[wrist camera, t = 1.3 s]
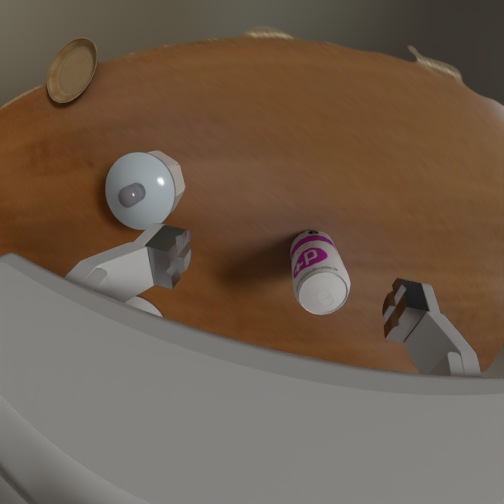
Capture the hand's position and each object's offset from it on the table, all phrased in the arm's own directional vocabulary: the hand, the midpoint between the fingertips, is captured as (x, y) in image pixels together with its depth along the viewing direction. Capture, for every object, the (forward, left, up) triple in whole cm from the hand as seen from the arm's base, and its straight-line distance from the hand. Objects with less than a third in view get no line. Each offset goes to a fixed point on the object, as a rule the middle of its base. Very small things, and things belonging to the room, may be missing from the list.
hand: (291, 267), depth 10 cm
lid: (-16, +17, -31) cm, 39 cm away
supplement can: (-10, -14, -38) cm, 41 cm away
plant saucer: (-4, +47, -38) cm, 60 cm away
